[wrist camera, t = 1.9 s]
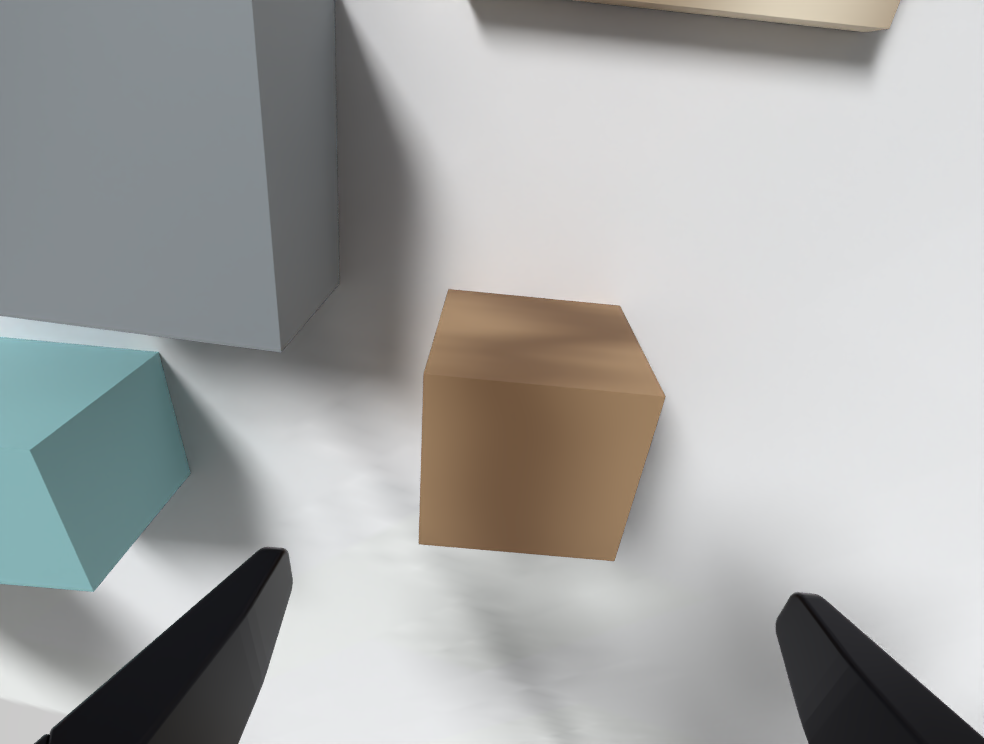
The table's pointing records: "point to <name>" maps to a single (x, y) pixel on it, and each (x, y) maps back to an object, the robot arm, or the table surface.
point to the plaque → (784, 11)
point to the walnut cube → (533, 426)
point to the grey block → (169, 166)
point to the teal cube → (81, 459)
